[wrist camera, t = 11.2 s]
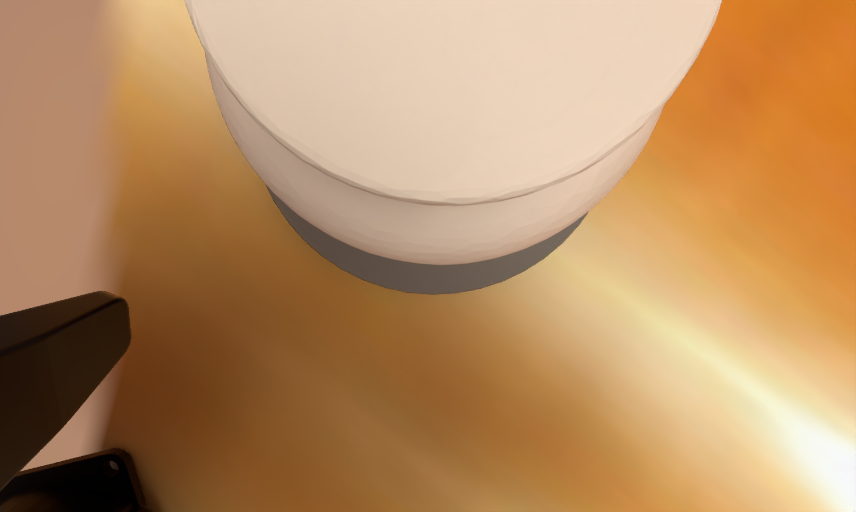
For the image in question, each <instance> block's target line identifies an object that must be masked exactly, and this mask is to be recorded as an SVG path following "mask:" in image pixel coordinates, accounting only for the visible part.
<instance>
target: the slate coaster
mask: <svg viewBox="0 0 856 512" xmlns="http://www.w3.org/2000/svg"><path fill="white" fill-rule="evenodd" d="M266 186H267V185H266ZM267 188H268V190H269V192H270V194H271V196H272V198H273V200H274V202H275V203H276V205H277V206H278V208H279V209H280V211H281V212H282V214H283V215H284V217H285V218H286V220H287V221H288V223H289V224H290V225H291V226H292V227H293V228H294V229H295V230H296V232H297V233H298V234H299V235H300V236H301V237H302V238H303V240H304V241H306V242H307V243H308V244H309V245H310V246H311V247H312V248H314V249H315V250H316V251H317V252H318V253H319V254H320V255H322V256H323V257H324V258H326V259H327V260H329V261H330V262H332V263H333V264H335V265H336V266H338V267H339V268H341V269H342V270H344V271H346V272H348V273H350V274H352V275H354V276H356V277H358V278H360V279H362V280H365V281H368V282H370V283H373V284H376V285H379V286H382V287H385V288H389V289H394V290H399V291H403V292H408V293H420V294H451V293H460V292H465V291H471V290H476V289H481V288H484V287H487V286H490V285H493V284H496V283H499V282H502V281H505V280H507V279H509V278H511V277H513V276H515V275H517V274H519V273H522V272H524V271H525V270H527V269H528V268H530V267H532V266H533V265H535V264H536V263H538V262H539V261H541V260H542V259H544V258H545V257H546V256H548V255H549V254H550V253H551V252H552V251H554V250H555V249H556V248H557V247H558V246H560V245H561V244H562V243H563V242H564V241H565V240H566V239H567V238H568V237H569V235H570V234H571V233H572V232H573V231H574V230H575V229H576V228H577V227H578V226H579V224H580V223H581V222H582V220H583V219H584V217H585V216H586V215H587V213H588V212H589V211H588V212H587V213H586V214H584V215H583V216H582V217H580V218H579V219H578V220H576V221H575V222H574V223H572V224H571V225H569V226H568V227H566V228H565V229H563V230H561V231H560V232H558V233H556V234H555V235H553V236H551V237H550V238H548V239H546V240H544V241H541V242H539V243H537V244H535V245H532V246H530V247H528V248H526V249H523V250H520V251H517V252H514V253H511V254H508V255H505V256H501V257H498V258H494V259H489V260H484V261H479V262H473V263H465V264H454V265H433V264H419V263H412V262H405V261H399V260H394V259H389V258H386V257H382V256H378V255H374V254H370V253H368V252H365V251H363V250H360V249H358V248H355V247H353V246H350V245H348V244H346V243H344V242H342V241H340V240H338V239H335V238H333V237H332V236H330V235H328V234H327V233H325V232H323V231H322V230H320V229H318V228H317V227H315V226H313V225H312V224H310V223H309V222H307V221H306V220H305V219H303V218H302V217H300V216H299V215H297V214H296V213H295V212H294V211H293V210H292V209H291V208H289V207H288V206H287V205H286V204H285V203H284V202H283V201H282V200H281V199H280V198H279V197H277V196H276V195H275V194H274V193H273V192H272V191H271V189H270V188H269V187H268V186H267Z"/></svg>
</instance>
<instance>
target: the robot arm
mask: <svg viewBox="0 0 856 512" xmlns="http://www.w3.org/2000/svg"><path fill="white" fill-rule="evenodd" d="M130 342H131V328H130V318H129V307H128V304H127V302H126V300H125V299H123V298H121V297H119V296H116V295H114V294H111V293H109V292H106V291H97V292H93V293H89V294H85V295H81V296H77V297H73V298H69V299H65V300H61V301H57V302H53V303H49V304H45V305H41V306H37V307H33V308H29V309H25V310H21V311H18V312H13V313H9V314H5V315H1V316H0V512H152V511H151V510H150V509H149V508H148V507H147V503H146V500H145V497H144V494H143V491H142V488H141V485H140V482H139V479H138V476H137V473H136V470H135V467H134V464H133V460H132V458H131V456H130V455H129V453H127V452H126V451H125V450H123V449H120V448H114V449H109V450H105V451H101V452H97V453H93V454H89V455H85V456H81V457H77V458H73V459H69V460H65V461H61V462H57V463H53V464H49V465H45V466H41V467H37V468H32V469H28V470H24V471H20V470H22V469H23V468H24V466H26V464H27V463H28V462H29V461H30V460H31V459H32V458H33V457H34V456H35V455H36V454H37V453H38V452H39V451H40V450H41V449H42V448H43V447H44V446H45V445H46V444H47V443H48V442H49V441H50V440H51V439H52V438H53V437H54V436H55V435H56V434H57V433H58V432H59V431H60V430H61V429H62V428H63V427H64V426H65V424H66V423H67V422H68V421H69V420H70V419H71V418H72V417H73V415H74V414H75V413H76V412H77V411H78V409H79V408H80V407H81V406H82V404H83V403H84V402H85V401H86V400H87V398H88V397H89V396H90V395H91V394H92V392H93V391H94V390H95V389H96V387H97V386H98V385H99V384H100V383H101V381H102V380H103V379H104V378H105V377H106V375H107V374H108V373H109V372H110V370H111V369H112V368H113V367H114V366H115V364H116V363H117V362H118V361H119V360H120V358H121V357H122V356H123V355H124V353H125V352H126V351H127V349H128V347H129V345H130ZM110 461H113V462H115V463H117V465H118V466H119V470H115V469H113V468H112V467H111V466H110Z"/></svg>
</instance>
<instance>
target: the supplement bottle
mask: <svg viewBox="0 0 856 512" xmlns="http://www.w3.org/2000/svg"><path fill="white" fill-rule="evenodd" d="M184 1H185V3H186V6H187V9H188V12H189V15H190V18H191V21H192V24H193V26H194V29H195V31H196V33H197V35H198V37H199V39H200V42H201V44H202V46H203V48H204V50H205V56H206V61H207V66H208V71H209V75H210V79H211V83H212V87H213V90H214V93H215V96H216V99H217V102H218V105H219V108H220V110H221V113H222V116H223V118H224V120H225V122H226V124H227V126H228V129H229V131H230V133H231V135H232V136H233V138H234V140H235V142H236V143H237V145H238V147H239V148H240V150H241V151H242V153H243V155H244V156H245V158H246V159H247V161H248V162H249V164H250V165H251V167H252V168H253V169H254V171H255V172H256V173H257V175H258V176H259V177H260V178H261V179H262V180H263V182H264V183H265V184H266V185H267V186H268V187H269V188H270V189H271V191H272V192H273V193H274V194H275V195H276V196H277V197H279V198H280V199H281V200H282V201H283V202H284V203H285V204H286V205H287V206H288V207H289V208H291V209H292V210H293V211H294V212H295V213H296V214H297V215H299V216H300V217H302V218H303V219H305V220H306V221H307V222H309V223H310V224H312V225H313V226H315V227H317V228H318V229H320V230H322V231H323V232H325V233H327V234H328V235H330V236H332V237H333V238H335V239H338V240H340V241H342V242H344V243H346V244H348V245H350V246H353V247H355V248H358V249H360V250H363V251H365V252H368V253H370V254H374V255H378V256H382V257H386V258H389V259H394V260H399V261H405V262H412V263H419V264H433V265H454V264H465V263H473V262H479V261H484V260H489V259H494V258H498V257H501V256H505V255H508V254H511V253H514V252H517V251H520V250H523V249H526V248H528V247H530V246H532V245H535V244H537V243H539V242H541V241H544V240H546V239H548V238H550V237H551V236H553V235H555V234H556V233H558V232H560V231H561V230H563V229H565V228H566V227H568V226H569V225H571V224H572V223H574V222H575V221H576V220H578V219H579V218H580V217H582V216H583V215H584V214H586V213H587V212H588V211H589V210H591V209H592V208H593V207H594V206H595V205H596V204H597V203H599V202H600V201H601V200H602V199H603V198H604V197H605V196H606V195H607V194H608V193H609V192H610V191H611V190H612V189H613V188H614V187H615V186H616V185H617V183H618V182H619V181H620V180H621V179H622V178H623V176H624V175H625V174H626V173H627V171H628V170H629V169H630V167H631V166H632V164H633V163H634V162H635V160H636V159H637V157H638V156H639V154H640V153H641V151H642V149H643V148H644V146H645V144H646V143H647V141H648V140H649V138H650V135H651V133H652V131H653V129H654V127H655V125H656V123H657V121H658V118H659V116H660V114H661V112H662V109H663V106H664V104H665V103H666V102H667V101H668V100H669V98H670V97H671V96H672V94H673V93H674V91H675V90H676V88H677V87H678V85H679V84H680V83H681V81H682V80H683V78H684V77H685V75H686V74H687V72H688V71H689V69H690V68H691V66H692V65H693V63H694V62H695V60H696V58H697V56H698V54H699V52H700V51H701V49H702V47H703V45H704V43H705V41H706V39H707V37H708V35H709V33H710V31H711V29H712V27H713V25H714V23H715V20H716V17H717V14H718V11H719V8H720V5H721V2H722V0H184Z"/></svg>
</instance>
